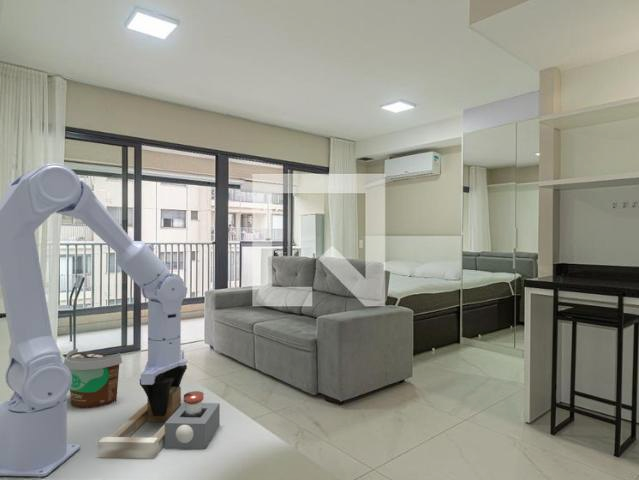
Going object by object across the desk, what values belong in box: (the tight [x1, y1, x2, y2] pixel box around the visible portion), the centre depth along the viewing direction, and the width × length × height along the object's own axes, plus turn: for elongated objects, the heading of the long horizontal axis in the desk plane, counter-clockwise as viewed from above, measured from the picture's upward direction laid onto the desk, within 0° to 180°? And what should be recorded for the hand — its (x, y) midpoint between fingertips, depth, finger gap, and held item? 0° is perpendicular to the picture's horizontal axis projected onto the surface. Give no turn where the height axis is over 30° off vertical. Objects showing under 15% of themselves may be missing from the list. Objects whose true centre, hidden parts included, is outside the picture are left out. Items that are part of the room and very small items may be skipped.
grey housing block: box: [164, 402, 221, 450], centre depth 68 cm, size 6×8×4 cm
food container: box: [63, 348, 123, 409], centre depth 81 cm, size 12×6×10 cm, turn 73°
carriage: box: [147, 386, 182, 423], centre depth 75 cm, size 5×4×5 cm
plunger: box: [183, 390, 205, 418], centre depth 68 cm, size 3×3×5 cm
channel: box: [97, 401, 185, 459], centre depth 70 cm, size 9×18×2 cm, turn 178°
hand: (164, 409), depth 75 cm, fingers closed on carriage, 4 cm apart
